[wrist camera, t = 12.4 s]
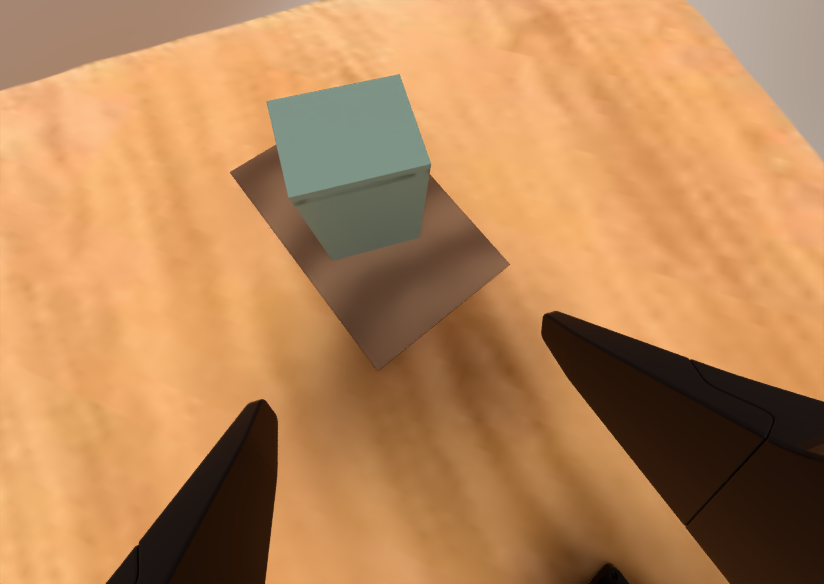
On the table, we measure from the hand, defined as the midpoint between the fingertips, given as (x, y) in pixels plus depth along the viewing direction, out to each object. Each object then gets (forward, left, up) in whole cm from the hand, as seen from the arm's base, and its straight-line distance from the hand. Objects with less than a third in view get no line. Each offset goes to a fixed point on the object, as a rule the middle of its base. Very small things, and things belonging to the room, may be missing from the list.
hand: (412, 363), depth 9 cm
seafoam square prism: (+11, -4, -12) cm, 17 cm away
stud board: (+11, -4, -14) cm, 18 cm away
